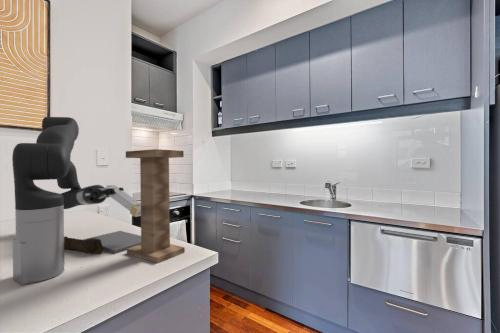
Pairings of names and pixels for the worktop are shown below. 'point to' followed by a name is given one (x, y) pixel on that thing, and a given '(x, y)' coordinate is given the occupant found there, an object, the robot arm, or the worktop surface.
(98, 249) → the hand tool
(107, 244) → the rubber mat
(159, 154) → the walnut stand
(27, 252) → the robot arm
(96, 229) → the worktop surface
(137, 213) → the grey rectangular bar
